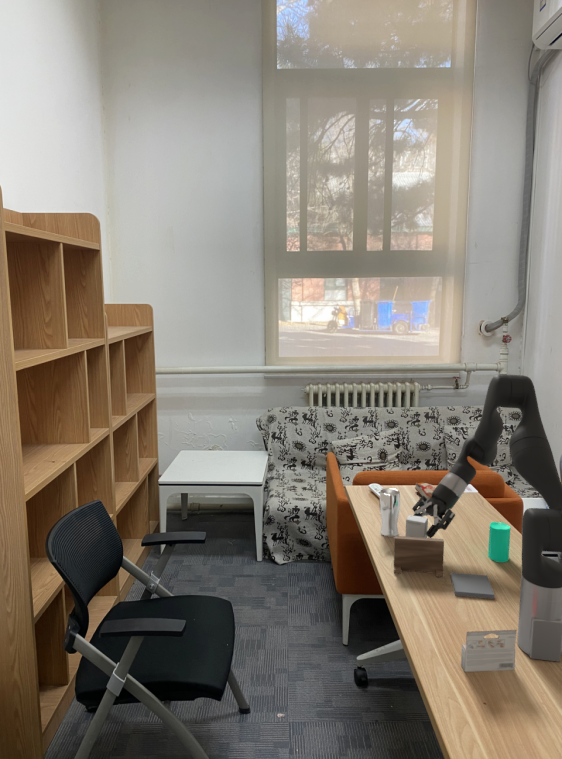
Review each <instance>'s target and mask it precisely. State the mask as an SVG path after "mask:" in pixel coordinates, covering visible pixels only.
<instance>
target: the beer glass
mask: <svg viewBox="0 0 562 759" xmlns="http://www.w3.org/2000/svg"><path fill="white" fill-rule="evenodd" d="M379 492H380V493H379V507H378V508H379V513H380V518H381V525H380V526H381V527H380V531H379V532H380V535H382V536H383V535H384V536H383V537H386V536H388V537H387V538H394V537H393V536H399V529H398V520H399V515H400V511H401V494H400V493H401V492H400V490H398V489H396V488H389V487H388V488H387V487H386V488H381V489H380V491H379Z"/></svg>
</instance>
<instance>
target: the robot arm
mask: <svg viewBox="0 0 562 759" xmlns="http://www.w3.org/2000/svg"><path fill="white" fill-rule="evenodd" d="M499 407H500V408H504V409H518V410H520V412H521V416H522V417H521V419H520V422H519V423H518V424H517V426H516V428H515V429H514V431H513V432H512V434H511V436H510V440H509V442H508V445H509V447H508V448H509V451H510V452H509V453H510V456H511V460H512V464H513V467H514V468H515V470H516V472H517V473H518V474H519V475H520V476H521V478H523V480H525V482H526V483H528V484H529V485H530V486H531V487H532V488H533V489H534V490H535V491H537V493H538V494H539V495H540V496H541V497H542V498H543V500H544V501H545V503H546V505H547V507H548V508H542V507H533V508H532V507H530V508H529V507H528V508H526V510H524V513H523V516H522V519H521V577H520V578H521V579H520V591H519V608H518V610H519V611H518V624H517V625H518V626H517V627H518V628H517V639H516V640H517V646H518V648H520V649H521V650H522V651H523V652H524V653H525V654H527V655H528V656H529V657H530V659H533V660H542V661H550V662H553V661H554V662H561V657H562V563H560V562H559V561H557V560H554V559H552V558H550V557H547V556H545V555H543V552H547V553H548V552H549V553H551V552H553V553H562V481H561V478H560V475H559V472H558V469H557V466H556V462H555V458H554V454H553V451H552V448H551V445H550V441H549V439H548V436H547V434H546V431H545V427H544V424H543V421H542V417H541V414H540V408H539V403H538V399H537V394H536V390H535V385H534V382H533V381H532V379H531V378H530V377H529V376H526V375H522V374H503V373H502V374H496V375H494V376H493V377H492V378H491V380H490V382H489V384H488V387H487V392H486V396H485V400H484V404H483V409H482V414H481V418H480V421H479V423H478V425H477V427H476V430H475V432H474V434H473V435H470V436H468V437H467V438H466V439H465V440H464V442H463V444H462V446H461V451H460V453H459V456H458V458H457V459H456V462H455V463H454V464H453V466H452V467H451V468H450V470H449V471H448V472H447V473H446V474H445V476H443V478H442V479H441V480H440V481H439V483H438V485H436V487H435V490H434V491H433V492H432V497H431V498H430V499H429V500H428V499H427V498H426V497H425V496H422V495H421V497H420V498H419V499H418V501H417V502H416V503H415V504H414V506H413V507H412V508H411V509H412V511H413V512H414V513H413V516H420V517H427V516H430V517H432V518H433V524H431V526H430V527H429V528H428V529H427V532H426V535H427V538H433V537H434V536H435V535H436V533H438V530H444V531H446V530H447V529H448V527H449V526H450V524H451V522H452V521H453V519H455V517H456V514H455V513H454V511H452V510H453V508H454V506H455V505H456V504H457V502H458V501H459V499H460V498H461V497H462V496H463V494H464V493H465V491H466V490H467V487H468V486H469V485H470V483H471V482H472V480H474V478H475V477H476V475H477V470H476V468H475V467H474V466H473V465H472V464H471V463H470V462H469V460H468V457H469V458H470V459H472V460H473V461H475V462H476V463H478V464H479V465H482V466H484V467H485V466H489V465H490V466H491V464H493V463H494V462H495V460H496V458H497V456H498V441H499V440H500V438H501V435H502V434H503V431H504V421H503V419H502V416H501V415H500V414H499V412H498V408H499ZM451 509H452V510H451Z"/></svg>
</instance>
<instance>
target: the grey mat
mask: <svg viewBox="0 0 562 759" xmlns="http://www.w3.org/2000/svg"><path fill="white" fill-rule="evenodd" d="M450 579H451V580H450V581H451V585H452V588H453V591H454V596H456V597H457V596H458V597H466V598H467V597H469V598H481V599H491V600H494V599H495V593H494V590H493V586H492V585H491V581H490V579H489V576H488V575H485V574H484V575H483V574H474V573H459V572H450Z"/></svg>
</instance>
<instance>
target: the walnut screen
mask: <svg viewBox="0 0 562 759" xmlns="http://www.w3.org/2000/svg"><path fill="white" fill-rule="evenodd" d="M405 536H406V535H405ZM405 536H403V535H401V536H400V535H397V536H395V537H393V538H394V540H393V541H394V545H393V552H394V553H393V573H394V574H395V575H402V571H405V572H417V573H429V574H435V576H436V578H445V573H444V572H445V571H444V556H445V555H444V554H445V553H444V552H445V551H444V550H445V547H444V546H445V540H444V538H433V537H432V538H429V537H427V538H420V537H405Z"/></svg>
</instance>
